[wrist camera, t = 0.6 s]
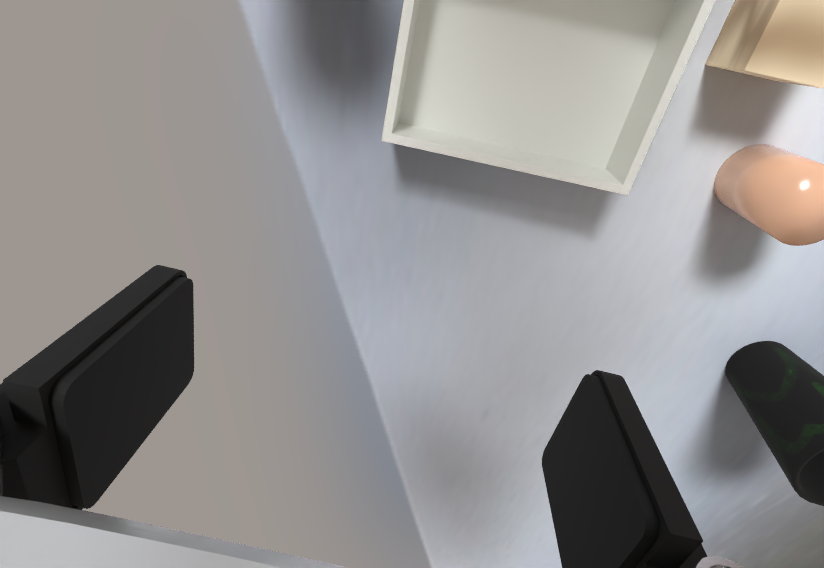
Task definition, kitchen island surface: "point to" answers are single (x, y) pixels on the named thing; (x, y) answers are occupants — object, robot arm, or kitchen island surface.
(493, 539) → the kitchen island surface
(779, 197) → the cylinder
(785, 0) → the cube
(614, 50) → the tote
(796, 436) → the cup
